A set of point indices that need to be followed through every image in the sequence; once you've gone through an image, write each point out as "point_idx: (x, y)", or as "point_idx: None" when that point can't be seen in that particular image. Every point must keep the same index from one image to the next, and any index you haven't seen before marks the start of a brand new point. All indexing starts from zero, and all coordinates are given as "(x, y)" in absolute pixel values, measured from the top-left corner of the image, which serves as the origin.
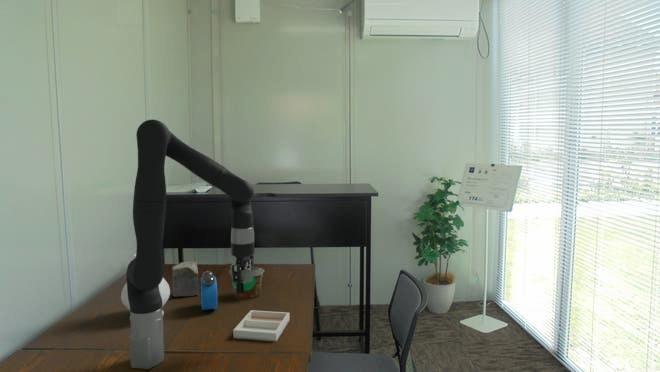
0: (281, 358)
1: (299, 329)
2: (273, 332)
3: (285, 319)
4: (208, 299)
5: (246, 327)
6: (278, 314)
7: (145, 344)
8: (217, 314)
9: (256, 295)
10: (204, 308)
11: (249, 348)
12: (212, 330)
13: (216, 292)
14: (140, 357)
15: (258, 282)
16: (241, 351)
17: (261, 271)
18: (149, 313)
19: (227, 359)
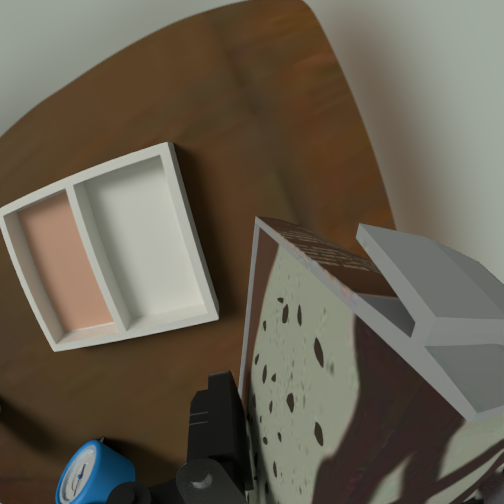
0: (284, 63)
1: (52, 125)
2: (165, 157)
3: (40, 189)
4: (120, 473)
5: (135, 307)
6: (17, 247)
7: None
8: (112, 424)
9: (302, 228)
10: (128, 459)
11: (263, 206)
12: (202, 388)
13: (94, 476)
14: None
15: (342, 250)
16: (294, 220)
17: (444, 285)
18: None
19: (355, 231)
